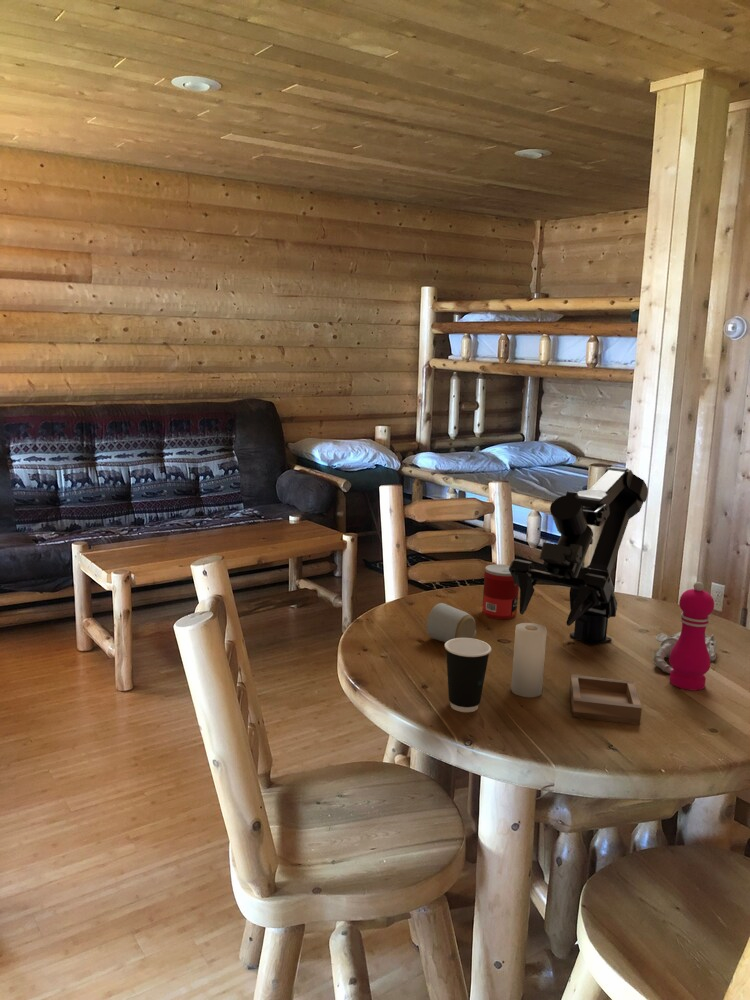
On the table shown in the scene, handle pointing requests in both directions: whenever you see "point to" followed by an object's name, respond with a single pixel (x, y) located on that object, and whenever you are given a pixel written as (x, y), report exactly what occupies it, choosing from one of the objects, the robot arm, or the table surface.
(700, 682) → the pepper mill
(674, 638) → the seahorse
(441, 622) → the ceramic mug
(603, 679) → the tray
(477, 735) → the table surface
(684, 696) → the table surface
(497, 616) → the canned food
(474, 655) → the dixie cup
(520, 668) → the paper roll
